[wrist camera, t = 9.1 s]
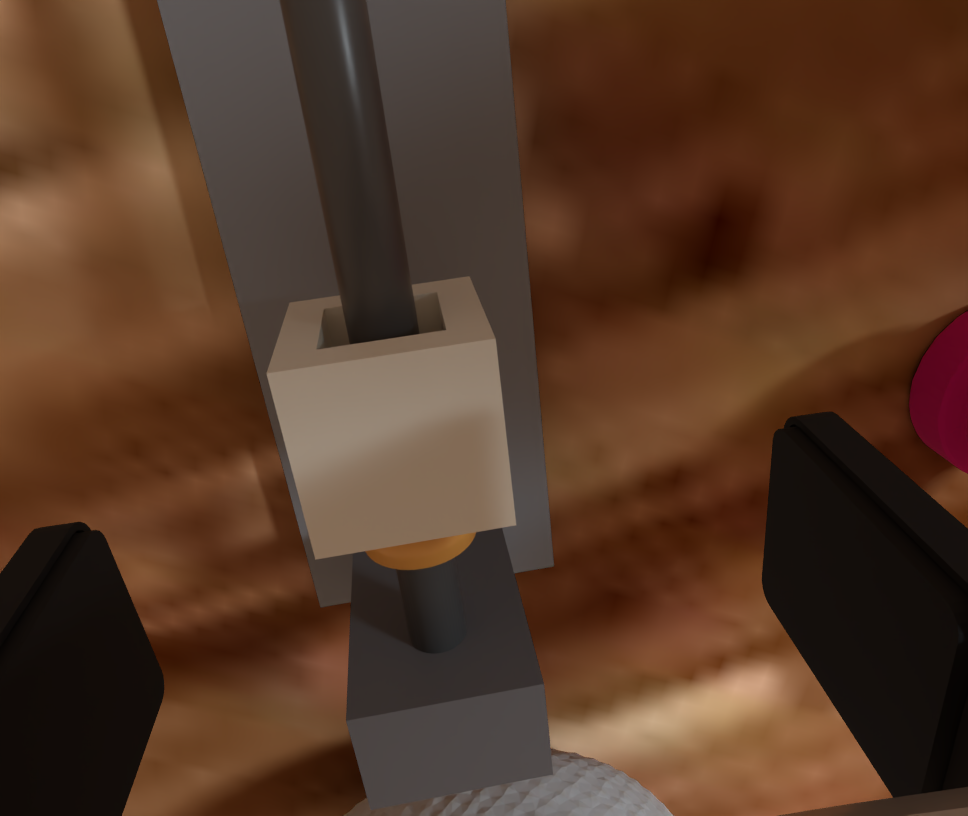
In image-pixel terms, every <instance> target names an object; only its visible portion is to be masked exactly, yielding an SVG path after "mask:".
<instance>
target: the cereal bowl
mask: <svg viewBox="0 0 968 816" xmlns="http://www.w3.org/2000/svg"><path fill="white" fill-rule="evenodd" d="M551 758H552V767H553V775H548V776H543V777H538V778H533V779H528V780H523V781H518V782H513V783H507V784H502V785H497V786H492V787H487V788H482V789H477V790H472V791H467V792H461V793H456V794H451V795H446V796H441V797H436V798H431V799H426V800H421V801H416V802H410V803H405V804H400V805H395V806H390V807H385V808H380V809H375V810H370V806H369V803H368V799H367V798H365V799H364V800H363V801H361V802H359V803H357V804H356V805H355V806H354V807H353V808H352V809H351V811H349V812H348V813H346V814H345V815H343V816H674V815H672V814H671V813H670V812H669V810H668V809H667V808H666V806H665V805H664V804H663V803H662V802H660V801H659V800H658V799H657V798H656V797H655V796H654V795H653V794H652V793H651V792H650V791H649V790H647V789H645V788H644V787H642V786H641V785H640V784H639V783H638V781H637V780H635V779H633V778H630V777H629V776H627V775H626V774H625V773H624V772H623V771H620V770H616V769H614V768H613V767H612V766H610V765H608V764H605V763H602V762H599V761H597V760H595V759H593V758H586V757H583V756H581V755H579V754H577V753H568V752H563V751H558V750H555V749H551Z"/></svg>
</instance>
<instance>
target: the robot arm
mask: <svg viewBox="0 0 968 816" xmlns="http://www.w3.org/2000/svg"><path fill="white" fill-rule="evenodd" d="M762 585H763V590H764V594H765V597H766V600H767V602H768V604H769V605H770V607H771V609H772V610H773V612H774V613H775V615H776V616H777V618H778V619H779V621H780V623H781V624H782V626H783V627H784V629H785V630H786V632H787V633H788V635H789V637H790V638H791V640H792V641H793V643H794V644H795V646H796V647H797V649H798V650H799V652H800V654H801V655H802V657H803V658H804V660H805V661H806V663H807V664H808V666H809V667H810V669H811V671H812V672H813V674H814V675H815V677H816V678H817V680H818V681H819V683H820V685H821V686H822V688H823V689H824V691H825V692H826V694H827V695H828V697H829V698H830V700H831V702H832V703H833V705H834V706H835V708H836V709H837V711H838V712H839V714H840V716H841V717H842V719H843V720H844V722H845V723H846V725H847V726H848V728H849V729H850V731H851V733H852V734H853V736H854V737H855V739H856V740H857V742H858V743H859V745H860V747H861V748H862V750H863V751H864V753H865V754H866V756H867V757H868V759H869V760H870V762H871V764H872V765H873V767H874V768H875V770H876V771H877V773H878V774H879V776H880V778H881V779H882V781H883V782H884V784H885V785H886V787H887V788H888V790H889V791H890V793H891V795H892V796H893V798H888V799H881V800H874V801H867V802H861V803H854V804H847V805H840V806H834V807H828V808H822V809H815V810H809V811H803V812H797V813H791V814H785V815H779V816H968V529H967V528H966V527H965V526H964V525H963V524H962V523H960V522H959V521H958V520H957V519H956V518H955V517H954V516H952V515H951V514H950V513H949V512H948V511H947V510H946V509H944V508H943V507H942V506H941V505H940V504H939V503H938V502H936V501H935V500H934V499H933V498H932V497H931V496H930V495H928V494H927V493H926V492H925V491H924V490H923V489H922V488H920V487H919V486H918V485H917V484H916V483H915V482H914V481H912V480H911V479H910V478H909V477H908V476H907V475H906V474H904V473H903V472H902V471H901V470H900V469H899V468H898V467H896V466H895V465H894V464H893V463H892V462H891V461H890V460H888V459H887V458H886V457H885V456H884V455H883V454H882V453H880V452H879V451H878V450H877V449H876V448H875V447H874V446H872V445H871V444H870V443H869V442H868V441H867V440H866V439H864V438H863V437H862V436H861V435H860V434H859V433H858V432H856V431H855V430H854V429H853V428H852V427H851V426H850V425H848V424H847V423H846V422H845V421H844V420H843V419H842V418H840V417H839V416H838V415H837V414H835V413H834V412H822V413H815V414H808V415H802V416H795V417H790V418H789V419H788V420H787V421H786V423H785V425H784V428H783V429H778V430H777V431H776V432H775V434H774V437H773V445H772V458H771V470H770V483H769V496H768V508H767V521H766V533H765V546H764V559H763V571H762ZM163 695H164V678H163V674H162V670H161V668H160V666H159V663H158V661H157V659H156V656H155V654H154V652H153V649H152V647H151V644H150V642H149V640H148V637H147V635H146V633H145V630H144V628H143V626H142V623H141V621H140V618H139V616H138V614H137V611H136V609H135V607H134V604H133V602H132V600H131V597H130V595H129V593H128V590H127V588H126V585H125V583H124V581H123V578H122V576H121V574H120V571H119V569H118V567H117V564H116V562H115V559H114V557H113V555H112V552H111V550H110V548H109V545H108V543H107V541H106V539H105V537H104V535H103V534H102V533H101V532H100V531H97V530H94V531H91V530H90V528H89V527H88V526H87V525H86V524H85V523H82V522H75V523H68V524H62V525H55V526H48V527H41V528H37V529H34V530H33V531H32V532H31V533H30V534H29V535H28V537H27V538H26V539H25V541H24V542H23V543H22V545H21V546H20V547H19V549H18V550H17V552H16V553H15V554H14V556H13V557H12V558H11V560H10V561H9V562H8V564H7V565H6V567H5V568H4V569H3V571H2V572H1V573H0V816H122V813H123V811H124V808H125V805H126V802H127V799H128V796H129V794H130V791H131V788H132V785H133V782H134V779H135V777H136V774H137V771H138V768H139V765H140V762H141V759H142V757H143V754H144V751H145V748H146V745H147V742H148V740H149V737H150V734H151V731H152V728H153V725H154V723H155V720H156V717H157V714H158V711H159V708H160V706H161V703H162V699H163Z"/></svg>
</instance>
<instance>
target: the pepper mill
mask: <svg viewBox="0 0 968 816" xmlns="http://www.w3.org/2000/svg"><path fill="white" fill-rule="evenodd" d="M909 409H910V415H911V420H912V423H913V426H914V428H915V430H916V432H917V435H918V436H919V437H920V438H921V440H922V441H923V442H924V443H925V444H926V445H927V446H928V447H929V448H931V449H932V450H934V451H935V452H936V453H938V454H939V455H941V456H942V457H943V458H945V459H946V460H947V461H949V462H950V463H952V464H953V465H954V466H956V467H957V468H959V469H960V470H962V471H964V472H966V473H967V474H968V311H966V312H965V313H963V314H962V315H960V316H958V317H957V318H956V319H955V320H954V321H953V322H952V323H951V324H950V325H949V326H948V327H946V328H945V329H944V330H943V331H942V332H941V333H940V334H939V335H938V336H937V337H936V339H935V340H934V341H933V343H932V344H931V346H930V347H929V349H928V350H927V351H926V353H925V354H924V356H923V357H922V360H921V362H920V364H919V366H918V369H917V371H916V373H915V375H914V378H913V380H912V385H911V391H910V400H909Z"/></svg>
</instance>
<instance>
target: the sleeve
mask: <svg viewBox="0 0 968 816" xmlns="http://www.w3.org/2000/svg"><path fill="white" fill-rule="evenodd" d="M412 289H413V296H414V302H415V308H416V315H417V321H418V327H419V333H420V334H417V335H410V336H403V337H397V338H390V339H384V340H377V341H370V342H364V343H357V344H351V345H350V343H349V338H348V333H347V328H346V323H345V318H344V314H343V309H342V304H341V299H340V295H338V296H331V297H324V298H318V299H311V300H304V301H297V302H290V303H289V306H288V309H287V312H286V315H285V318H284V321H283V324H282V327H281V330H280V334H279V337H278V340H277V343H276V346H275V349H274V352H273V355H272V358H271V361H270V364H269V367H268V370H267V373H266V374H267V378H268V382H269V385H270V389H271V393H272V397H273V401H274V404H275V408H276V412H277V416H278V420H279V423H280V427H281V431H282V435H283V439H284V442H285V446H286V450H287V454H288V458H289V461H290V465H291V469H292V473H293V477H294V480H295V484H296V488H297V492H298V496H299V499H300V503H301V507H302V511H303V514H304V518H305V522H306V526H307V530H308V533H309V537H310V541H311V545H312V549H313V552H314V556H315V560H316V559H322V558H328V557H334V556H340V555H346V554H351V553H357V552H363V551H369V550H375V549H381V548H386V547H392V546H398V545H404V544H410V543H416V542H421V541H427V540H433V539H439V538H445V537H451V536H456V535H462V534H468V533H474V532H480V531H486V530H492V529H497V528H503V527H509V526H515V525H516V518H515V509H514V499H513V490H512V481H511V472H510V463H509V454H508V445H507V436H506V427H505V418H504V409H503V400H502V391H501V382H500V373H499V364H498V355H497V346H496V338H495V336H494V333H493V331H492V329H491V326H490V324H489V322H488V319H487V317H486V314H485V312H484V310H483V307H482V305H481V303H480V300H479V298H478V295H477V293H476V291H475V288H474V286H473V284H472V281H471V279H470V276H468V277H461V278H454V279H447V280H440V281H434V282H427V283H420V284H413V285H412Z"/></svg>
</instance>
